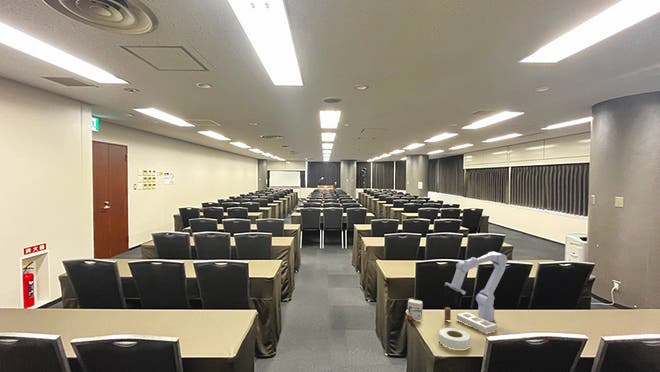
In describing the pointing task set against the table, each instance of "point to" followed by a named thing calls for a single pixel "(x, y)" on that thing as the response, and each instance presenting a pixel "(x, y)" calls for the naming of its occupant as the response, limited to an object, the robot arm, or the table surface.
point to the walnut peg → (447, 313)
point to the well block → (477, 322)
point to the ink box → (414, 309)
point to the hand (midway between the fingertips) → (450, 300)
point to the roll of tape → (454, 338)
